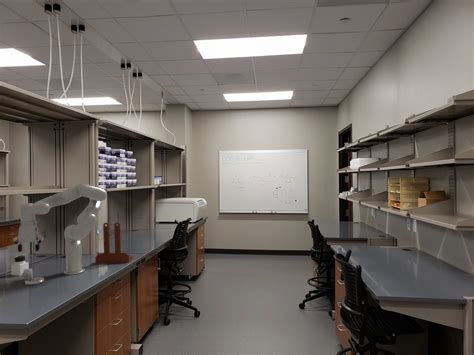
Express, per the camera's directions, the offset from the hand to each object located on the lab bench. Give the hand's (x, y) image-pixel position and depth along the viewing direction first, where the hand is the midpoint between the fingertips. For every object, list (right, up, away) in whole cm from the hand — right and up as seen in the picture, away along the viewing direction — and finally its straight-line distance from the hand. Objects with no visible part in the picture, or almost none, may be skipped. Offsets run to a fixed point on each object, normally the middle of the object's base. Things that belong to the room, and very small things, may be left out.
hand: (28, 251), depth 205 cm
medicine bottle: (-17, -20, +18) cm, 32 cm away
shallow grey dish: (+4, -19, -1) cm, 19 cm away
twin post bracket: (+36, -18, +47) cm, 62 cm away
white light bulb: (-4, -19, +6) cm, 20 cm away
